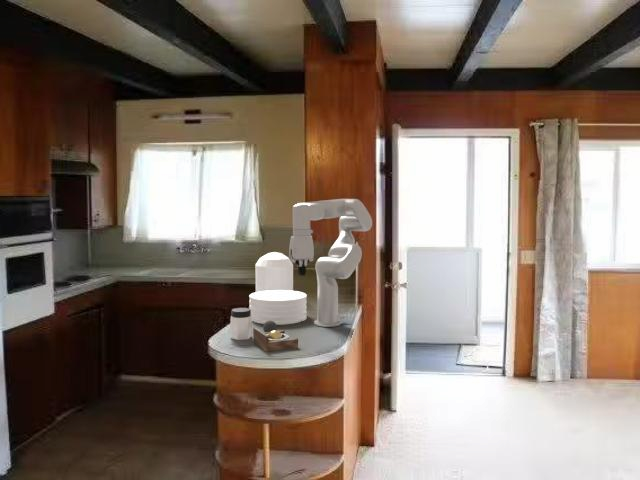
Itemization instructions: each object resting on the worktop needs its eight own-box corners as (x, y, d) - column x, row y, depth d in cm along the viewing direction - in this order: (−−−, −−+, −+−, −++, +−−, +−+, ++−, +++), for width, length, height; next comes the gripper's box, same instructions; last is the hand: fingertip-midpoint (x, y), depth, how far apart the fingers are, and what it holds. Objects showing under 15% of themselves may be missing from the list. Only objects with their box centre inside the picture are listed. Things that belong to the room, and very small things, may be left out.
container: (251, 299, 319) (250, 250, 316) (286, 296, 327) (286, 249, 325) (261, 306, 300) (261, 254, 297) (298, 303, 308) (298, 253, 305)
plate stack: (299, 326, 257) (299, 301, 256) (241, 323, 263) (241, 299, 262) (312, 313, 284) (312, 291, 283) (259, 310, 290) (259, 288, 289)
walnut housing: (283, 338, 235) (283, 324, 234) (298, 347, 222) (298, 332, 221) (253, 342, 229) (253, 327, 229) (266, 351, 216) (266, 336, 215)
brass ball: (262, 335, 225) (270, 346, 227) (267, 340, 220) (276, 350, 222) (273, 325, 227) (281, 335, 229) (278, 329, 222) (287, 339, 224)
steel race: (281, 340, 232) (281, 331, 232) (293, 346, 223) (293, 337, 223) (257, 343, 227) (257, 335, 227) (268, 350, 218) (268, 341, 217)
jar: (255, 337, 236) (255, 309, 235) (240, 341, 230) (240, 312, 229) (242, 333, 242) (242, 306, 241) (227, 337, 236) (226, 309, 235)
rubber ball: (273, 331, 246) (273, 318, 245) (279, 335, 240) (279, 321, 240) (261, 333, 243) (261, 319, 243) (266, 336, 238) (265, 322, 237)
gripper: (313, 231, 246) (313, 272, 248) (282, 233, 239) (282, 275, 241) (321, 232, 239) (321, 275, 241) (289, 234, 233) (289, 277, 235)
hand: (302, 275), depth 241 cm, fingers closed
